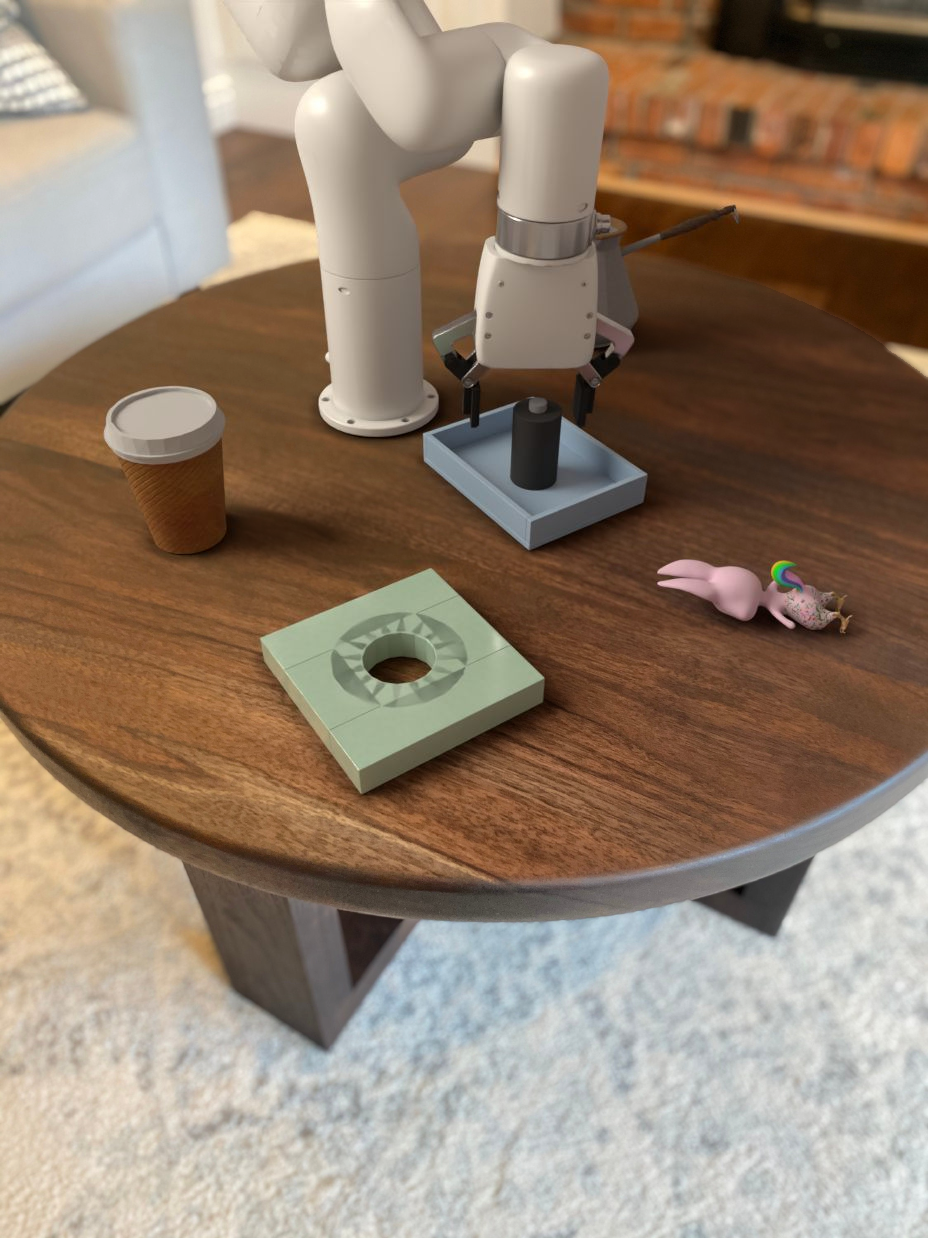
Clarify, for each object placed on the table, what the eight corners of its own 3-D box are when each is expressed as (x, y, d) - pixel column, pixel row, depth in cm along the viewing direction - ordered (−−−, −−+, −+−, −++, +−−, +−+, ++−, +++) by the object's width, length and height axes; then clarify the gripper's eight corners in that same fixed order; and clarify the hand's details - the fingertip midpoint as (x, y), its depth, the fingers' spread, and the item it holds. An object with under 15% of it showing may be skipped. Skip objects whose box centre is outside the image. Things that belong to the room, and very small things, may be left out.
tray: (423, 461, 92) (422, 433, 90) (531, 423, 97) (533, 396, 95) (529, 550, 81) (530, 521, 79) (643, 502, 87) (648, 474, 85)
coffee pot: (543, 355, 109) (552, 222, 99) (536, 313, 117) (544, 187, 107) (726, 355, 109) (754, 223, 99) (706, 313, 118) (730, 187, 108)
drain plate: (264, 661, 71) (259, 637, 69) (431, 591, 77) (431, 567, 76) (361, 795, 62) (358, 770, 60) (543, 702, 68) (545, 678, 66)
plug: (500, 473, 89) (503, 397, 84) (537, 460, 91) (542, 384, 86) (528, 495, 86) (533, 418, 81) (566, 481, 88) (573, 404, 83)
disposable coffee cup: (191, 580, 78) (161, 455, 70) (111, 542, 82) (73, 420, 74) (267, 523, 84) (247, 402, 76) (189, 490, 88) (162, 372, 80)
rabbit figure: (827, 609, 78) (651, 569, 78) (859, 554, 74) (673, 511, 74) (838, 661, 73) (651, 618, 73) (873, 605, 69) (675, 560, 69)
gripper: (641, 212, 77) (612, 397, 89) (431, 210, 76) (429, 398, 88) (661, 249, 72) (627, 441, 84) (435, 247, 71) (433, 443, 82)
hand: (526, 419), depth 86 cm, fingers open, 9 cm apart
